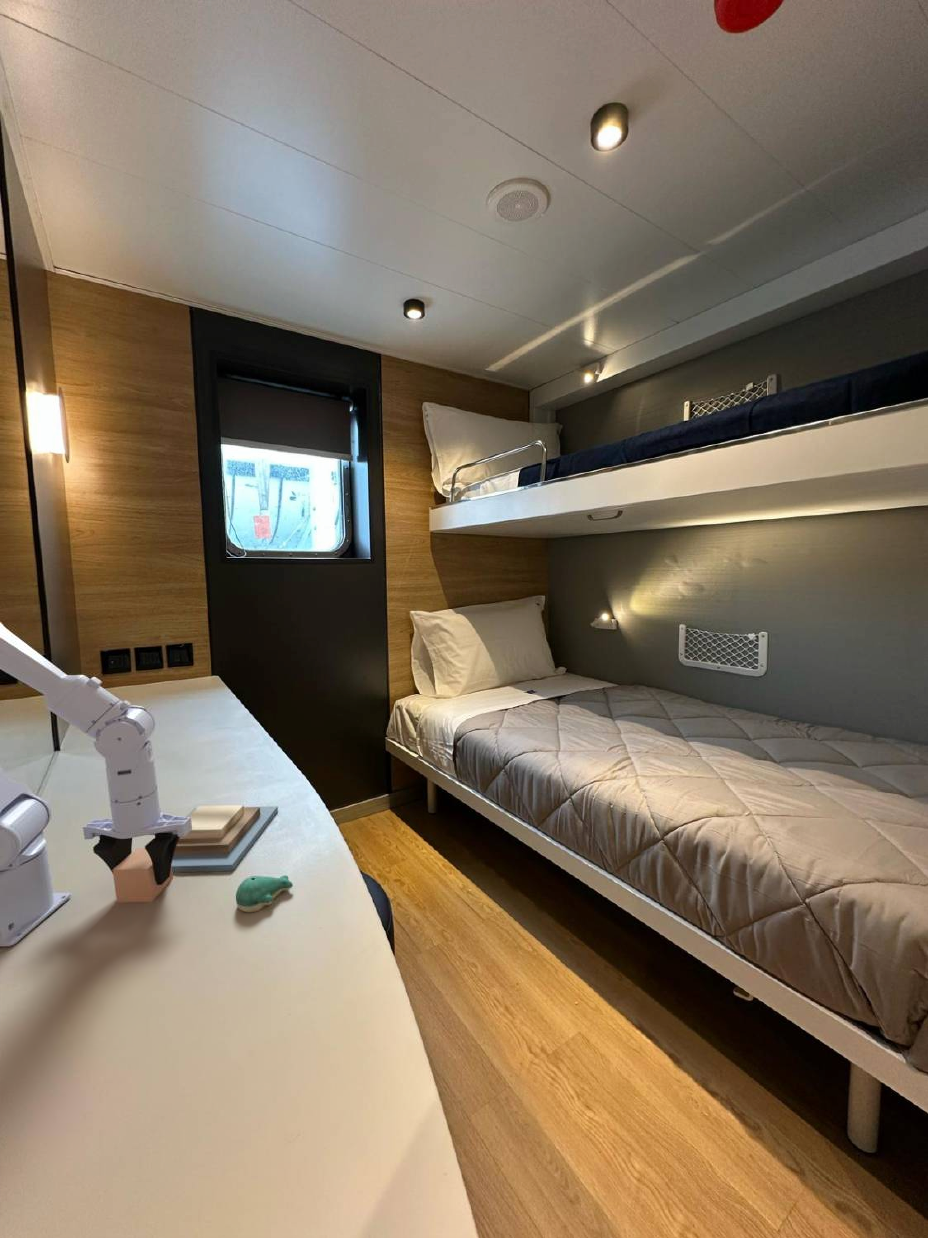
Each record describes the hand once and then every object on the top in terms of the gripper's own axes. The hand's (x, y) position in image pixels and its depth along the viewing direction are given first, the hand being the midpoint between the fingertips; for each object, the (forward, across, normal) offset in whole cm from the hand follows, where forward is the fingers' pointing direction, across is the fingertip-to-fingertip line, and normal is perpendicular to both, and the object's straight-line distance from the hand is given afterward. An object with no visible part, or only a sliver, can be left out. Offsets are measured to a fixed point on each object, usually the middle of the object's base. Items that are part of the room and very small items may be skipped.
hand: (144, 881), depth 72 cm
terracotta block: (+2, 0, 0) cm, 2 cm away
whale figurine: (+2, -19, +2) cm, 19 cm away
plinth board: (+1, -3, -13) cm, 13 cm away
